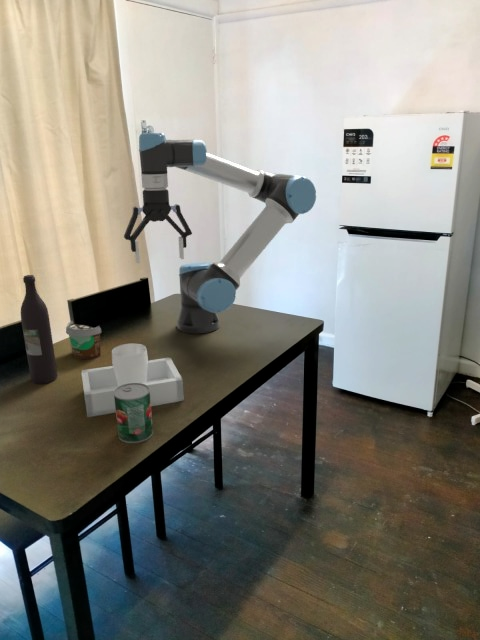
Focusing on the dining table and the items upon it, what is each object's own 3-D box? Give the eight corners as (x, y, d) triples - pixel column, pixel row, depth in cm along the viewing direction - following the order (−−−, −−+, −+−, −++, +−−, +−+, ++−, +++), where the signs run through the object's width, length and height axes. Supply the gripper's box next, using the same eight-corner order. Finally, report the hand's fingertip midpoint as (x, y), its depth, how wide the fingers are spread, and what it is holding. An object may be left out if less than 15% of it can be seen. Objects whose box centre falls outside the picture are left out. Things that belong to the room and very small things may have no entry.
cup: (155, 386, 137) (152, 344, 133) (140, 402, 129) (137, 358, 125) (125, 382, 139) (121, 341, 135) (108, 397, 131) (104, 354, 127)
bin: (171, 376, 145) (170, 357, 143) (183, 400, 131) (182, 379, 129) (83, 390, 137) (81, 370, 135) (87, 417, 124) (84, 395, 122)
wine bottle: (30, 376, 146) (13, 274, 136) (55, 371, 149) (41, 271, 139) (32, 386, 140) (15, 280, 130) (59, 381, 143) (44, 277, 133)
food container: (60, 356, 160) (56, 326, 156) (75, 349, 165) (71, 320, 161) (90, 363, 154) (86, 332, 151) (104, 356, 159) (100, 326, 156)
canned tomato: (160, 432, 117) (157, 389, 113) (132, 447, 111) (128, 402, 108) (138, 421, 122) (135, 379, 118) (111, 434, 116) (106, 391, 113)
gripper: (113, 191, 142) (120, 266, 149) (199, 188, 150) (202, 259, 157) (110, 189, 149) (117, 261, 156) (193, 186, 156) (196, 254, 163)
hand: (160, 260), depth 156 cm, fingers open, 13 cm apart
